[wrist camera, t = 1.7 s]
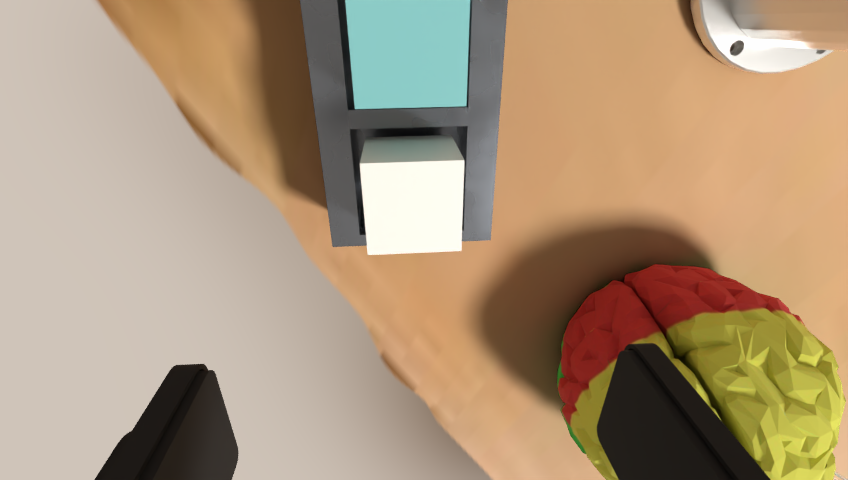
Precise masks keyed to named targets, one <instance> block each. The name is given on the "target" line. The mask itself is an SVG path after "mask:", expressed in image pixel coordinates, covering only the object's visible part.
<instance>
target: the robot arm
mask: <svg viewBox="0 0 848 480" xmlns="http://www.w3.org/2000/svg"><path fill="white" fill-rule="evenodd" d="M691 12H692V16H693V20H694V25H695V28H696V30H697V33H698V35H699V37H700V39H701V41H702V43H703V45H704V46H705V47H706V48H707V49H708V50H709V52H710V53H711V54H712V55H713V56H714V57H715V58H716V59H718V60H719V61H721V62H722V63H724V64H725V65H727V66H729V67H732V68H735V69H738V70H741V71H746V72H753V73H759V74H765V73H781V72H786V71H790V70H795V69H798V68H801V67H803V66H806V65H808V64H811V63H813V62H816V61H818V60H819V59H821V58H823V57H825V56H826V55H828V54H830V53H831V52H833V51H848V0H691ZM597 436H598V439H599V442H600V444H601V446H602V448H603V450H604V452H605V454H606V456H607V458H608V460H609V462H610V464H611V466H612V468H613V469H614V471H615V473H616V475H617V477H618V479H619V480H771V479H770V478H769V477H768V476H767V475H766V473H765V472H764V471H763V470H762V469H761V467H760V466H759V465H758V464H757V463H756V461H755V460H754V459H753V458H752V457H751V456H750V454H749V453H748V452H747V451H746V450H745V448H744V447H743V446H742V445H741V444H740V442H739V441H738V440H737V439H736V438H735V436H734V435H733V434H732V433H731V432H730V431H729V429H728V428H727V427H726V426H725V425H724V423H723V422H722V421H721V420H720V419H719V417H718V416H717V415H716V414H715V413H714V412H713V410H712V409H711V408H710V407H709V406H708V404H707V403H706V402H705V401H704V400H703V398H702V397H701V396H700V395H699V394H698V392H697V391H696V390H695V389H694V388H693V387H692V385H691V384H690V383H689V382H688V381H687V379H686V378H685V377H684V376H683V375H682V373H681V372H680V371H679V370H678V369H677V367H676V366H675V365H674V364H673V363H672V362H671V360H670V359H669V358H668V357H667V356H666V354H665V353H664V352H663V351H662V350H661V348H660V347H659V346H657V345H656V344H654V343H640V344H628V345H627V346H626V347H625V349H624V351H620V352H619V354H618V358H617V361H616V364H615V367H614V371H613V374H612V377H611V381H610V384H609V387H608V391H607V394H606V397H605V401H604V404H603V407H602V410H601V414H600V417H599V420H598V424H597ZM237 461H238V447H237V443H236V440H235V437H234V433H233V430H232V427H231V423H230V420H229V417H228V414H227V410H226V407H225V404H224V400H223V397H222V394H221V391H220V388H219V384H218V381H217V377H216V374H215V372H214V371H213V370H208V369H207V367H206V366H205V365H204V364H192V365H176V366H174V367H173V368H172V369H171V370H170V371H169V373H168V374H167V376H166V378H165V379H164V381H163V382H162V384H161V386H160V387H159V389H158V390H157V392H156V394H155V395H154V397H153V398H152V400H151V402H150V403H149V405H148V406H147V408H146V409H145V411H144V413H143V414H142V416H141V417H140V419H139V421H138V422H137V424H136V425H135V427H134V428H133V430H132V431H131V432H129V433H128V434H126V435H125V436H124V437H123V438H122V439H121V440H120V442H119V443H118V444H117V446H116V447H115V449H114V450H113V452H112V454H111V455H110V457H109V458H108V460H107V461H106V463H105V464H104V466H103V467H102V469H101V470H100V472H99V474H98V475H97V477H96V478H95V480H232V477H233V474H234V471H235V468H236V465H237Z"/></svg>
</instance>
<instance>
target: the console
mask: <svg viewBox="0 0 848 480" xmlns="http://www.w3.org/2000/svg"><path fill="white" fill-rule="evenodd" d="M507 3H508V0H470V18H469V47H468V76H467V104H466V106H459V107H420V108H380V109H355V105H354V94H353V83H352V71H351V60H350V49H349V37H348V26H347V14H346V3H345V0H300V4H301V12H302V19H303V27H304V35H305V42H306V50H307V57H308V65H309V72H310V80H311V87H312V95H313V102H314V110H315V118H316V125H317V133H318V140H319V148H320V155H321V163H322V170H323V178H324V185H325V193H326V200H327V208H328V216H329V223H330V231H331V238H332V246H333V247H342V246H365V245H367V241H366V230H365V218H364V207H363V196H362V184H361V173H360V160H361V156H362V151H363V147H364V143H365V138H366V137H398V136H432V135H452V137H453V139H454V141H455V143H456V145H457V147H458V149H459V151H460V153H461V154H462V156H463V158H464V189H463V218H462V241H481V240H491V227H492V213H493V199H494V185H495V171H496V157H497V143H498V129H499V115H500V101H501V87H502V73H503V59H504V45H505V31H506V17H507Z"/></svg>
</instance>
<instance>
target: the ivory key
mask: <svg viewBox="0 0 848 480" xmlns="http://www.w3.org/2000/svg"><path fill="white" fill-rule="evenodd" d="M360 173H361V184H362V196H363V207H364V218H365V230H366V241H367V252H368V255H380V254H403V253H425V252H448V251H461V246H462V218H463V189H464V158H463V156H462V154H461V153H460V151H459V149H458V147H457V145H456V143H455V141H454V139H453V137H452V135H432V136H398V137H366V138H365V143H364V147H363V151H362V156H361V160H360Z"/></svg>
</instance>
